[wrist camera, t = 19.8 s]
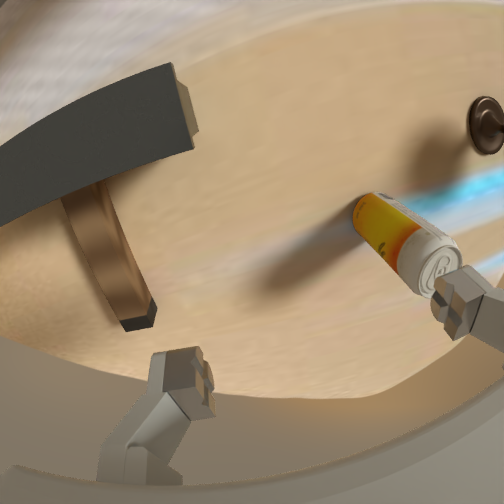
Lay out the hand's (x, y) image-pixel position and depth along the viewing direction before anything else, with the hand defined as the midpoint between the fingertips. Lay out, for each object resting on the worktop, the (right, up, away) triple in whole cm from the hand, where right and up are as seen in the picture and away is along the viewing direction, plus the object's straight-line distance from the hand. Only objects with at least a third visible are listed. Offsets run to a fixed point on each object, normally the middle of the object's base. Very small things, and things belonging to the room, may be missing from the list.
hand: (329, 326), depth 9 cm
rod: (-19, +3, +25) cm, 32 cm away
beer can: (+13, +7, +26) cm, 30 cm away
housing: (-22, +14, +19) cm, 32 cm away
